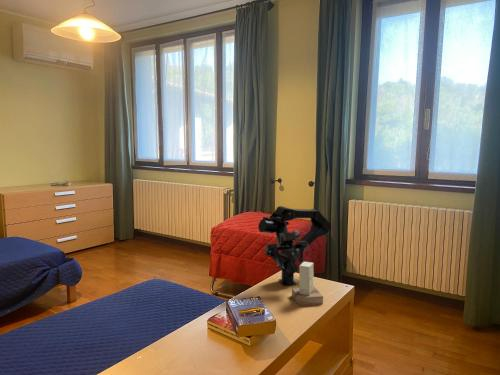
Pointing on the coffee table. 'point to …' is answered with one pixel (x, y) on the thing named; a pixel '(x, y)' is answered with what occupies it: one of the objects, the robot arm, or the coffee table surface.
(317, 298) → the grey square block
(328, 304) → the coffee table surface
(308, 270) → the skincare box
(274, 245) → the robot arm
